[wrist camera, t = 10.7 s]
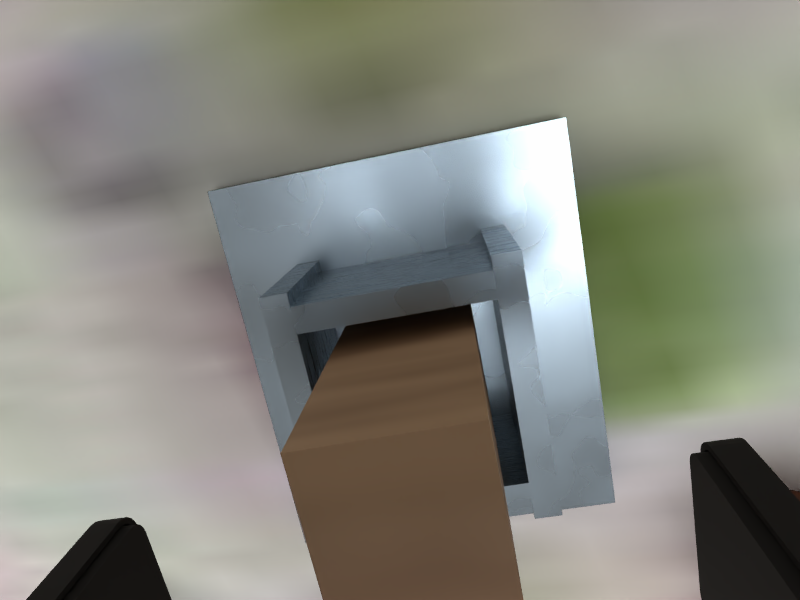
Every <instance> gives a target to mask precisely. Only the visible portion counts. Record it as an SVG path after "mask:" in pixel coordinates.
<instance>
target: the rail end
mask: <svg viewBox="0 0 800 600" xmlns="http://www.w3.org/2000/svg"><path fill="white" fill-rule="evenodd" d="M280 454H281V457H282V460H283V464H284V467H285V471H286V474H287V478H288V481H289V485H290V488H291V491H292V495H293V498H294V502H295V505H296V509H297V512H298V515H299V519H300V522H301V526H302V529H303V533H304V536H305V539H306V543H307V546H308V550H309V553H310V557H311V560H312V563H313V567H314V570H315V574H316V577H317V581H318V584H319V588H320V591H321V594H322V598H323V600H523V595H522V589H521V583H520V577H519V572H518V566H517V560H516V554H515V548H514V542H513V537H512V531H511V525H510V519H509V513H508V507H507V502H506V496H505V490H504V484H503V478H502V472H501V467H500V461H499V455H498V449H497V443H496V437H495V432H494V426H493V420H492V414H491V408H490V403H489V397H488V391H487V386H486V381H485V375H484V370H483V365H482V360H481V354H480V349H479V344H478V339H477V333H476V328H475V323H474V318H473V312H472V307H471V304H468V305H463V306H457V307H451V308H445V309H440V310H434V311H428V312H422V313H417V314H411V315H405V316H400V317H394V318H388V319H382V320H377V321H371V322H365V323H360V324H354V325H348V326H345V328H344V330H343V332H342V334H341V336H340V338H339V340H338V342H337V344H336V346H335V348H334V350H333V352H332V353H331V355H330V357H329V359H328V361H327V363H326V365H325V367H324V369H323V371H322V373H321V375H320V377H319V379H318V381H317V383H316V385H315V387H314V389H313V391H312V393H311V395H310V397H309V399H308V400H307V402H306V404H305V406H304V408H303V410H302V412H301V414H300V416H299V418H298V420H297V422H296V424H295V426H294V428H293V430H292V432H291V434H290V436H289V438H288V440H287V442H286V444H285V445H284V447H283V449H282V451H281V453H280Z"/></svg>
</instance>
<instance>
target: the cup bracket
mask: <svg viewBox="0 0 800 600" xmlns="http://www.w3.org/2000/svg"><path fill="white" fill-rule="evenodd" d="M208 195H209V199H210V202H211V206H212V209H213V213H214V216H215V220H216V224H217V227H218V231H219V234H220V238H221V242H222V245H223V249H224V252H225V256H226V259H227V263H228V267H229V270H230V274H231V277H232V281H233V285H234V288H235V292H236V295H237V299H238V302H239V306H240V310H241V313H242V317H243V320H244V324H245V327H246V331H247V335H248V338H249V342H250V345H251V349H252V353H253V356H254V360H255V363H256V367H257V370H258V374H259V378H260V381H261V385H262V388H263V392H264V395H265V399H266V403H267V406H268V410H269V413H270V417H271V421H272V424H273V428H274V431H275V435H276V438H277V442H278V446H279V449H280V453H281V451H282V449H283V447H284V445H285V444H286V442H287V440H288V438H289V436H290V434H291V432H292V430H293V428H294V426H295V424H296V422H297V420H298V418H299V416H300V414H301V412H302V410H303V408H304V406H305V404H306V402H307V400H308V399H309V397H310V395H311V393H312V391H313V389H314V387H315V385H316V383H317V381H318V379H319V377H320V375H321V373H322V371H323V369H324V367H325V365H326V363H327V361H328V359H329V357H330V355H331V353H332V352H333V350H334V348H335V346H336V344H337V342H338V340H339V338H340V336H341V334H342V332H343V330H344V328H345V326H348V325H354V324H360V323H365V322H371V321H377V320H382V319H388V318H394V317H400V316H405V315H411V314H417V313H422V312H428V311H434V310H440V309H445V308H451V307H457V306H463V305H468V304H471V307H472V312H473V318H474V323H475V328H476V333H477V339H478V344H479V349H480V354H481V360H482V365H483V370H484V375H485V381H486V386H487V391H488V397H489V403H490V408H491V414H492V420H493V426H494V432H495V437H496V443H497V449H498V455H499V461H500V467H501V472H502V478H503V484H504V490H505V496H506V502H507V507H508V513H509V516H516V515H524V514H531V513H534V517H535V519H536V518H544V517H551V516H559V515H562V509H569V508H577V507H584V506H592V505H600V504H607V503H615V497H614V489H613V481H612V474H611V466H610V458H609V450H608V442H607V434H606V427H605V419H604V411H603V403H602V395H601V388H600V380H599V372H598V364H597V356H596V348H595V341H594V333H593V325H592V317H591V309H590V301H589V294H588V286H587V278H586V270H585V262H584V255H583V247H582V239H581V231H580V223H579V215H578V208H577V200H576V192H575V184H574V176H573V168H572V161H571V153H570V145H569V137H568V129H567V121H566V117H564V118H558V119H554V120H549V121H544V122H539V123H534V124H530V125H525V126H520V127H515V128H510V129H506V130H501V131H496V132H491V133H486V134H481V135H477V136H472V137H467V138H462V139H457V140H453V141H448V142H443V143H438V144H433V145H429V146H424V147H419V148H414V149H409V150H404V151H400V152H395V153H390V154H385V155H380V156H376V157H371V158H366V159H361V160H356V161H352V162H347V163H342V164H337V165H332V166H327V167H323V168H318V169H313V170H308V171H303V172H299V173H294V174H289V175H284V176H279V177H275V178H270V179H265V180H260V181H255V182H250V183H246V184H241V185H236V186H231V187H226V188H222V189H217V190H213V191H208ZM290 489H291V488H290ZM291 492H292V491H291ZM292 496H293V495H292ZM293 499H294V498H293ZM294 503H295V502H294ZM295 506H296V505H295ZM296 510H297V509H296ZM297 514H298V512H297ZM298 517H299V515H298ZM299 521H300V519H299ZM300 524H301V522H300ZM301 528H302V526H301ZM302 532H303V529H302ZM303 535H304V533H303ZM304 539H305V536H304ZM305 542H306V539H305Z"/></svg>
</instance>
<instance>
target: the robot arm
mask: <svg viewBox="0 0 800 600" xmlns="http://www.w3.org/2000/svg"><path fill="white" fill-rule="evenodd" d="M690 469H691V481H692V494H693V507H694V519H695V532H696V545H697V557H698V570H699V583H700V593H701V598H702V600H800V501H799V500H798V499H797V498H796V496H795V495H794V494H793V493H792V492H791V491H790V490H789V489H788V487H787V486H786V485H785V484H784V483H783V482H782V481H781V480H780V478H779V477H778V476H777V475H776V474H775V473H774V472H773V471H772V469H771V468H770V467H769V466H768V465H767V464H766V463H765V462H764V460H763V459H762V458H761V457H760V456H759V455H758V454H757V453H756V452H755V450H754V449H753V448H752V447H751V446H750V445H749V444H748V443H747V441H745V440H744V439H743V438H734V439H726V440H719V441H711V442H704V443H703V444H702V445H701V453H693V454H691V456H690ZM26 600H171V597H170V595H169V592H168V589H167V587H166V584H165V581H164V579H163V576H162V573H161V571H160V568H159V566H158V563H157V560H156V558H155V555H154V552H153V550H152V547H151V545H150V542H149V539H148V537H147V534H146V531H145V530H144V528H143V527H142V526H141V525H138V524H136V522H135V521H134V520H133V519H132V518H128V517H125V518H117V519H110V520H102V521H98V522H95V523H94V524H92V525H91V526H90V527H89V528H88V530H87V531H86V532H85V533H84V534H83V535H82V536H81V538H80V539H79V540H78V541H77V542H76V543H75V544H74V546H73V547H72V548H71V549H70V550H69V551H68V552H67V554H66V555H65V556H64V557H63V558H62V559H61V560H60V562H59V563H58V564H57V565H56V566H55V567H54V568H53V570H52V571H51V572H50V573H49V574H48V575H47V576H46V578H45V579H44V580H43V581H42V582H41V583H40V584H39V586H38V587H37V588H36V589H35V590H34V591H33V592H32V594H31V595H30V596H29V597H28V598H27V599H26Z"/></svg>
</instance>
